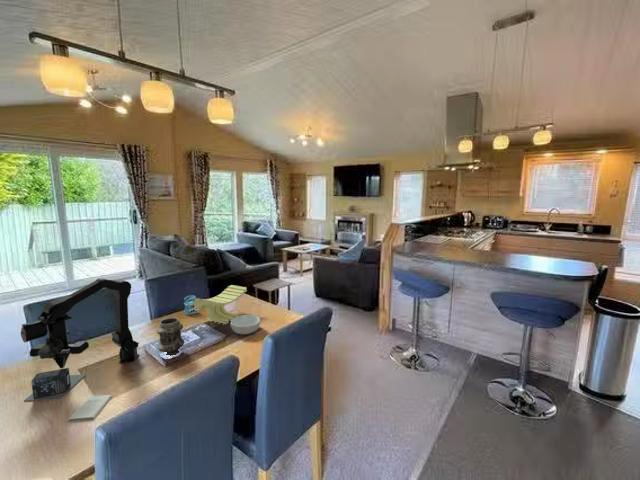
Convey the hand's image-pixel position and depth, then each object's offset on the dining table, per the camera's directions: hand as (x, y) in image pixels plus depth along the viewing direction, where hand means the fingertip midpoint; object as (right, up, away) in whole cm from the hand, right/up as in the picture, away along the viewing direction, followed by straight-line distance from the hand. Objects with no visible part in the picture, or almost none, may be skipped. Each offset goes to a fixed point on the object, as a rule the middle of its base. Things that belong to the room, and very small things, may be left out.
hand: (62, 367), depth 126 cm
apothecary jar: (+32, -5, +27) cm, 42 cm away
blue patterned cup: (+19, +3, +81) cm, 83 cm away
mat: (-3, -9, +1) cm, 9 cm away
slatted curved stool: (+43, +2, +72) cm, 84 cm away
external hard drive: (+21, -11, -11) cm, 26 cm away
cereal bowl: (+63, -1, +53) cm, 82 cm away
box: (+3, -4, -1) cm, 5 cm away
